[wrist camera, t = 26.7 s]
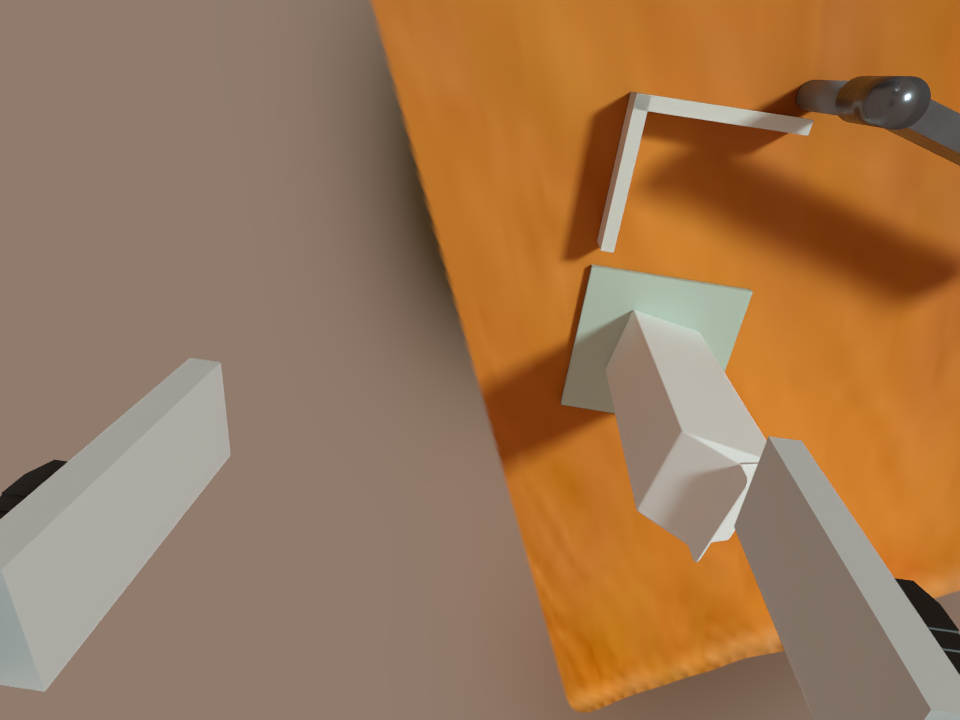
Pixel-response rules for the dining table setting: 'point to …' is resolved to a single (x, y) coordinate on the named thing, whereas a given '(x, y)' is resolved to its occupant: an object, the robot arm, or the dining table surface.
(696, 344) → the milk
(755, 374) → the dining table surface
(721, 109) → the bracket
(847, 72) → the dining table surface
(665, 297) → the mat
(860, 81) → the dark grey metallic bar
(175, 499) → the robot arm
